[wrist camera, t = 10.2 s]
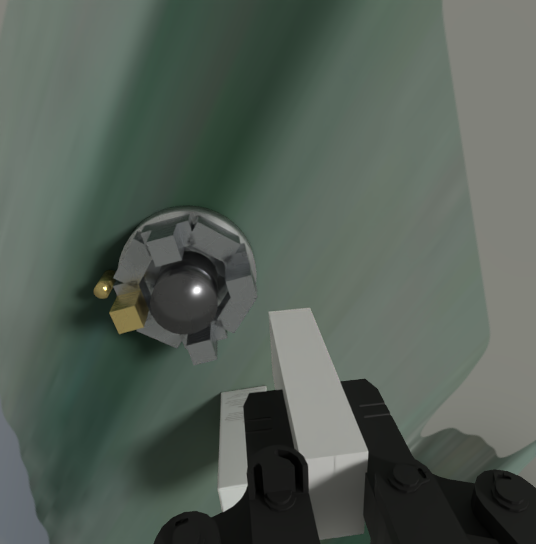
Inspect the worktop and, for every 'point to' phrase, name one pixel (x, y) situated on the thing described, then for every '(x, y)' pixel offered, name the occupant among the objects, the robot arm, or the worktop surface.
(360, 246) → the worktop surface
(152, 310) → the housing
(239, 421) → the skincare box
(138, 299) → the ring nut
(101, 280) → the post
